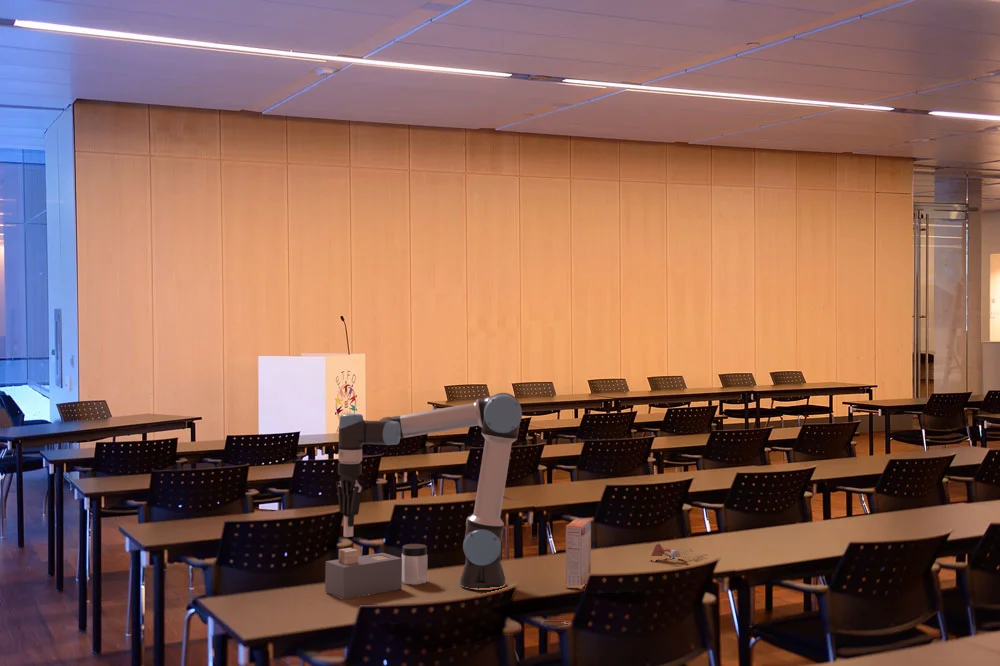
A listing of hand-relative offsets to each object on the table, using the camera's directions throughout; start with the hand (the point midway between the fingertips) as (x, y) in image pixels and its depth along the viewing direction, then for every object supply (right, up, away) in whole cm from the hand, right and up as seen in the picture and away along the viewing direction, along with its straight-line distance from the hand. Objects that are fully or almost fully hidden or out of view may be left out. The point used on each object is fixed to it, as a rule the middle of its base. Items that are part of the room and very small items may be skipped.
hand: (348, 536), depth 323 cm
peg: (+9, -17, +8) cm, 20 cm away
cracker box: (+75, -20, +16) cm, 79 cm away
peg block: (+4, -18, +4) cm, 19 cm away
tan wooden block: (0, -12, 0) cm, 12 cm away
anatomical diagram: (+118, -21, +57) cm, 133 cm away
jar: (+20, -19, +17) cm, 32 cm away
